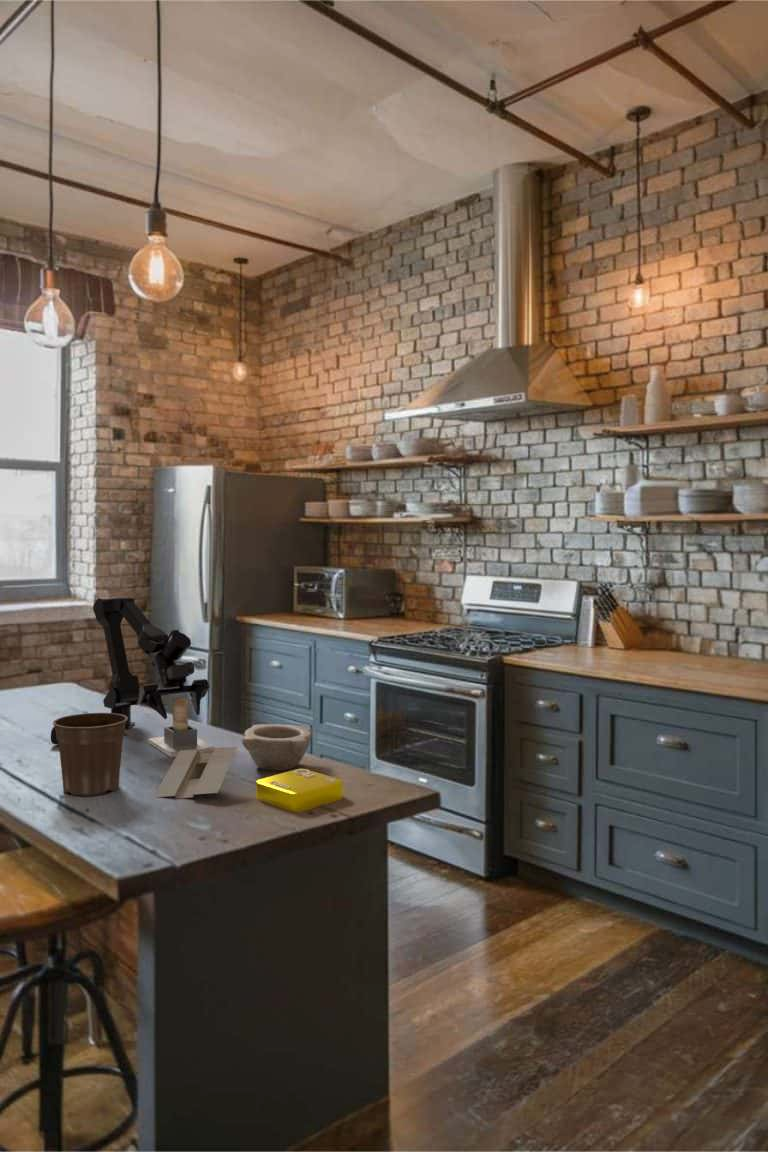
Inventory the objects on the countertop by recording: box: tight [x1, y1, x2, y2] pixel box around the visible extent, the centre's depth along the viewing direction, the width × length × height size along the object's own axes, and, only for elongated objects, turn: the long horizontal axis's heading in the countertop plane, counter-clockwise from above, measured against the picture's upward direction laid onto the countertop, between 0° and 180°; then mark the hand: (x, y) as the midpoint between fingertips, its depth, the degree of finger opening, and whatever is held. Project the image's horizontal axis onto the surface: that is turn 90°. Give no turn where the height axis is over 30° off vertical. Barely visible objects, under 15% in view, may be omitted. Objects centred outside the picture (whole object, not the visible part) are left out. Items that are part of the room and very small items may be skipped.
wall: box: [153, 746, 238, 799], centre depth 199 cm, size 16×9×15 cm
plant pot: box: [52, 712, 128, 797], centre depth 198 cm, size 16×16×16 cm
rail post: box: [172, 697, 189, 732], centre depth 237 cm, size 4×4×12 cm
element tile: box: [255, 768, 344, 813], centre depth 194 cm, size 15×15×5 cm
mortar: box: [241, 723, 313, 772], centre depth 219 cm, size 17×17×9 cm
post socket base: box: [147, 724, 215, 759], centre depth 237 cm, size 18×12×5 cm, turn 34°
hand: (182, 716), depth 235 cm, fingers open, 9 cm apart
